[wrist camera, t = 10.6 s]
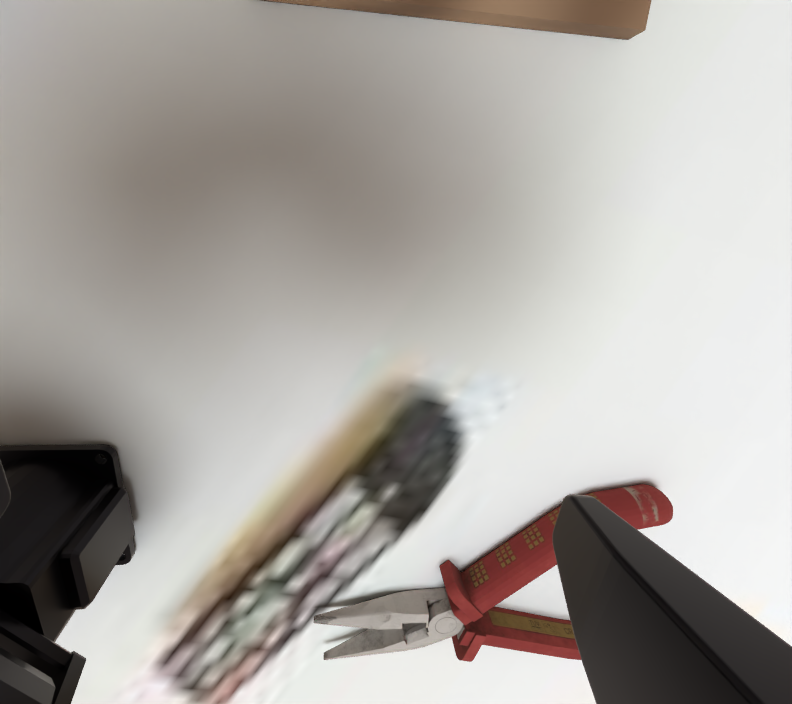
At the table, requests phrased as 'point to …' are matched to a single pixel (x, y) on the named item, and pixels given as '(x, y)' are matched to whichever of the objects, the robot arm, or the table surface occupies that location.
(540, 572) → the pliers
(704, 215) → the table surface
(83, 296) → the table surface
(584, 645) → the robot arm
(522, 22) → the socket board
